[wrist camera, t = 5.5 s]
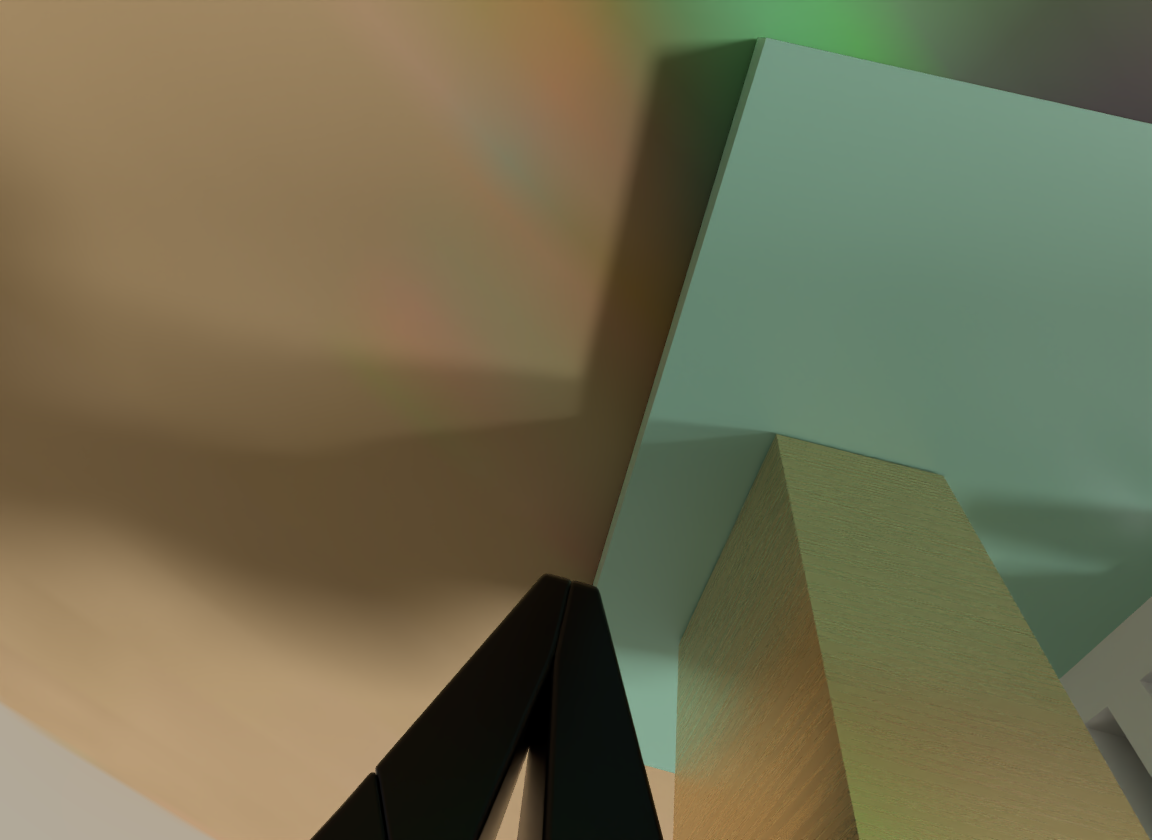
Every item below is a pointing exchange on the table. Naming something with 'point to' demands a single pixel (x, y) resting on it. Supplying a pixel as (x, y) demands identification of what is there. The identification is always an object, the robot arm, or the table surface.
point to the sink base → (914, 362)
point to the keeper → (873, 676)
